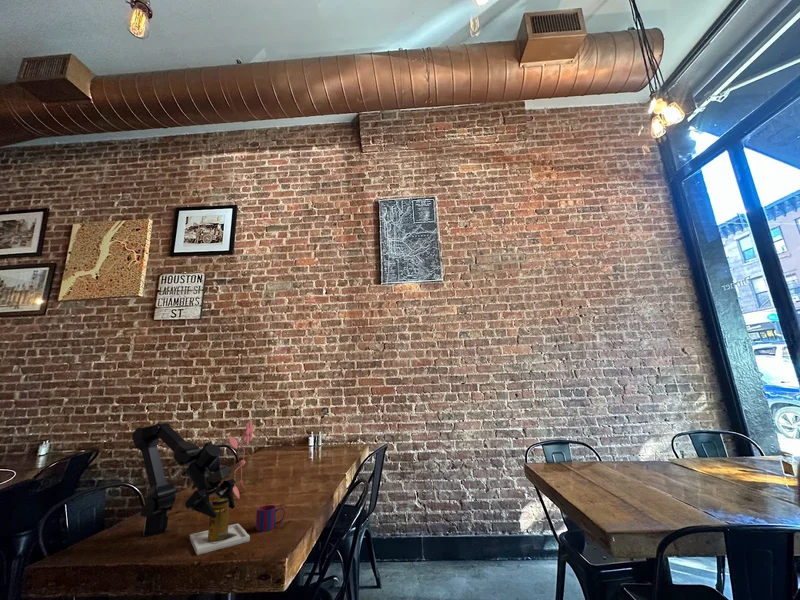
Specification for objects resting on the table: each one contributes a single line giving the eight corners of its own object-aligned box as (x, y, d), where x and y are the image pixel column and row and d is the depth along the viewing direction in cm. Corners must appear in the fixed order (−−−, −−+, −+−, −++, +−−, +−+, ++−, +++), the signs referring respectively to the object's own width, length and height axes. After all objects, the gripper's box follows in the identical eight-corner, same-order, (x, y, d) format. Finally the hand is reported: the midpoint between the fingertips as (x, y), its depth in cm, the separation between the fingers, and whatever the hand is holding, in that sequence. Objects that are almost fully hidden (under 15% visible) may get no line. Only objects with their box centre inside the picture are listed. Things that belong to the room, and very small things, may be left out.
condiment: (201, 540, 120) (205, 500, 123) (225, 531, 127) (228, 494, 130) (214, 544, 117) (218, 503, 120) (238, 535, 124) (240, 497, 127)
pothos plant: (217, 504, 159) (226, 422, 168) (238, 489, 184) (245, 417, 192) (252, 504, 160) (260, 422, 168) (269, 488, 185) (274, 417, 193)
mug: (258, 525, 134) (259, 505, 135) (285, 523, 135) (286, 503, 136) (253, 532, 127) (254, 511, 129) (282, 530, 128) (283, 509, 130)
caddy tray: (196, 555, 110) (197, 549, 111) (189, 539, 123) (190, 534, 123) (249, 541, 120) (250, 536, 120) (238, 527, 132) (238, 523, 132)
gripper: (196, 465, 119) (221, 503, 114) (233, 455, 137) (257, 487, 132) (173, 490, 119) (198, 529, 114) (213, 476, 137) (236, 510, 132)
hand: (224, 512), depth 123 cm, fingers open, 9 cm apart
